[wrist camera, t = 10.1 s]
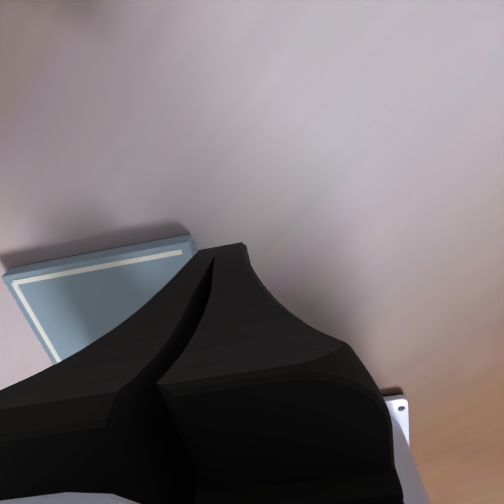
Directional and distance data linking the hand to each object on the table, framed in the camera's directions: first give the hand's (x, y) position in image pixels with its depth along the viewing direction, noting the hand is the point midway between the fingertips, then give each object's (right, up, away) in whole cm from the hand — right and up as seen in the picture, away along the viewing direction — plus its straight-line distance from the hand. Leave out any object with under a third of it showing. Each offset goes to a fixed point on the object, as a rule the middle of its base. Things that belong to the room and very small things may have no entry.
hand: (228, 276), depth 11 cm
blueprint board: (-7, -5, +15) cm, 17 cm away
